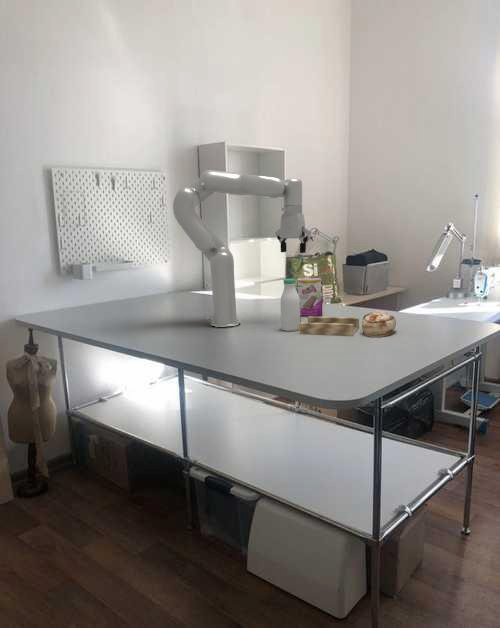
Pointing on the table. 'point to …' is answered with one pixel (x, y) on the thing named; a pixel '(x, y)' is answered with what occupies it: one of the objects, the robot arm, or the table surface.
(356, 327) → the brown rectangular tray
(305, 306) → the candy bar box
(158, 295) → the table surface
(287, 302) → the milk bottle
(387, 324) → the bowl of food
